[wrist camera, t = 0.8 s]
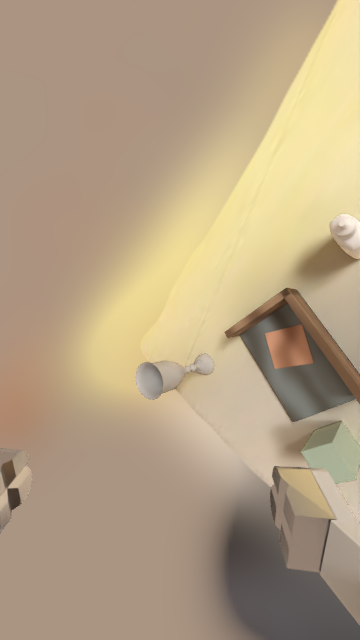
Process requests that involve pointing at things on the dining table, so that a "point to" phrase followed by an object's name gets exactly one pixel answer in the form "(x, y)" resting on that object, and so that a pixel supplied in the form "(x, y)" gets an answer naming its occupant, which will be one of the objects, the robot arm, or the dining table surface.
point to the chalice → (168, 375)
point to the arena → (298, 356)
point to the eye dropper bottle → (347, 234)
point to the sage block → (333, 452)
